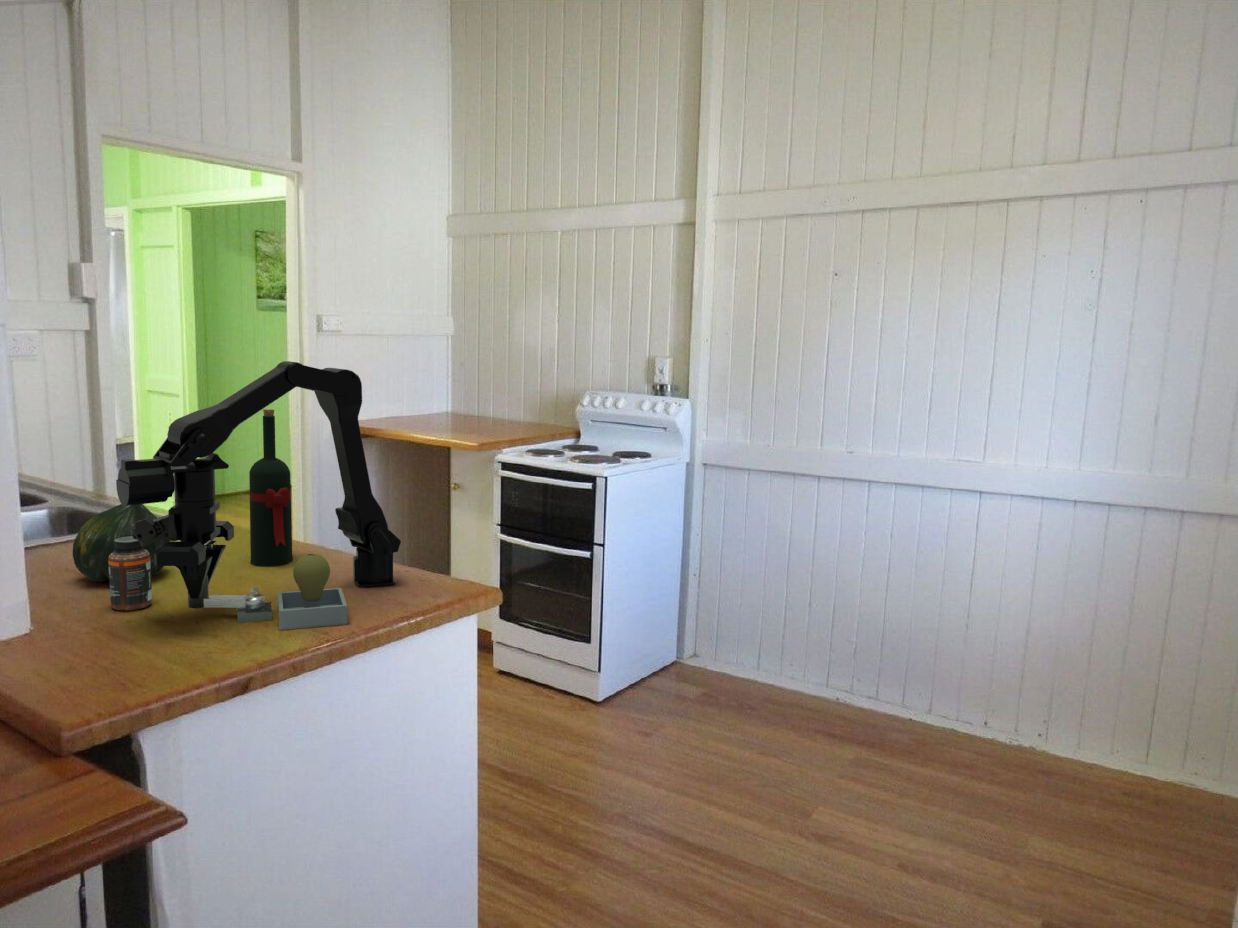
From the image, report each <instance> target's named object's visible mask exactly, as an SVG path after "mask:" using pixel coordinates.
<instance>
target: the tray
mask: <svg viewBox="0 0 1238 928" xmlns="http://www.w3.org/2000/svg"><path fill="white" fill-rule="evenodd" d="M277 615H278V626H279V631H282V630H283V631H284V630H285V631H286V630H294V629H295V630H296V629H308V628H317V627H318V628H320V627H328V626H340V625H348V604H347V600H346V598H345V595H344V591H343V589H342V588H341V587H334V588H324V589H323V593H322V597H321V599H320V607H311V608H304V600H303V598H302V595H301V591H300V590H294V591H293V590H290V591H279V592H277Z"/></svg>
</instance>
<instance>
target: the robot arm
mask: <svg viewBox="0 0 1238 928" xmlns="http://www.w3.org/2000/svg"><path fill="white" fill-rule="evenodd" d="M295 388H300V389H304V390H308V391H312V392H314V395H315V397H316V399H317V402H318V404H319V406H320V409H322V411H323V413H324V414H325V416H326V417H327V419H328V421H329V424H330V428H331V429H330V430H331V433H332V438H333V444H334V448H335V454H336V457H337V458H336V459H337V464H338V468H339V472H340V480H341V483H342V489H343V495H344V498H343V499H344V500H343V503H342V506H341V507H336V508H335V510H334V512H335V515H336V517H337V521H338V524H337V529H338V530H340V531H342V534H343V535H344V536H345V537H346V538H348V540H349V542H350V544H351V545H350V546H351V547H353V548H356V551H355V552H356V553H355V555H354V556H353V557H352V578H353V580H354V582H355V583H356V584H357V586H358V587H359V588H364V587H365V588H366V587H379V586H380V587H381V586H392V585H395V584H396V581H395V579H394V553H398V552H399V549H400V547H401V546H400V545H401V542H402V541H401V539H399V538H398V537H397V536H396V534H394V533H393V532H392V531H391V530H390V529H389V525H388V521H387V519H386V517H385V512H384V511H383V509H382V507H381V506H380V504H379V503H378V500H376V498H375V496H374V495H373V490H372V486H371V479H370V475H369V470H368V465H367V458H366V455H365V454H366V453H365V448H364V443H363V438H362V437H363V436H362V433H361V426H360V422H359V415H360V412H361V408H362V405H363V385H362V380H361V378H360V376H359V374H357V373H355V372H354V371H352V370H350V369H344V368H336V367H325V368H317V367H312V366H308V365H304V364H303V363H300V362H297V361H290V360H287V361H281V362H278V364H277V365H276V366H274V368H272V369H271V370H269V371H268V372H266V373H264V374H263V375H262V376H259V377H258V378H256V379H255V380H253V381H252V382H250V383H249V384H247V385H246V386H244V387H242V388H241V389H239V390H237V391H236V392H235V393H233V394H232V395H230V396H228V397H227V398H224V399H223V400H222V401H220V402H218V403H217V404H214V405H212V406H209V407H205V408H202V409H199V410H196V411H195V410H194V411H193V412H191V413H188V414H186V415H184V416H181V417H178V418H176V419H175V420H174V421H173V422H172V423H170V425H169V426H168V431H167V435H166V436H167V437H166V439H165V440H164V441H163V443H162V445H160V447H159V448H158V450H156V453H154V455H153V456H152V458H149V459H148V458H146V459H131V458H125V459H121V460H120V468H119V470H118V475H117V479H116V480H115V481H116V482H115V484H116V492H117V493H116V494H117V497H118V500H119V502H120V504H122V505H123V506H129V505H138V504H143V505H147V504H157V503H164V502H166V501H168V499H169V498H173V494H174V505H173V506H171V507H170V508H169V509H168V514H165V515H162V516H160V517H157V518H156V519H153V520H152V519H151V518H149V517H148V518H146V519H144V520H139V521H137V522H136V523H135V528H134V529H133V532H134V535H133V538H134V539H135V540H138V541H140V544H141V546H142V547H144V546H147V545H149V544H150V543H152V542H155V541H158V540H161V539H164V538H167V537H168V541H169V542H167V543H166V544H164V545H162V546H161V547H160V548H159V549H158V550H156V551H155V552H154V565H156V566H164V567H175V568H177V569H178V570H179V572H180V574H181V577H182V579H183V582H184V585H185V587H186V589H187V593H188V592H189V595H190V598H191V599H197V598H199V595H200V593H201V590H202V587H203V584H204V581H205V578H206V575H207V574H208V586H209V584H210V583H211V579H212V578H213V575H214V573H215V570H216V569H217V566H218V564H219V562H220V559H221V557H222V556H223V553H224V552H225V549H226V547H227V545H226V544H218V543H217V542H218V541H217V540H215V539H216V538H224V540H225V541H226V542H227V541H231V540H232V539H234V538H235V527H234V525H233V524H232V523H231V522H229V520H217V514H216V513H217V510H220V508H221V506H220V501H216V479H215V475H216V474H215V471H216V470H224V469H225V470H226V469H227V470H228V468H229V467H230V465H229V464H228V463H227V462H226V461H224V460H223V459H222V458H221V457H220V456H219V454H217V453H214V452H215V451H217V450H218V449H219V448H220V447H221V446H223V444H224V443H225V442H226V441H227V440H228V439H229V438H230V436H231V435H232V433H233V432H234V430H235V429H236V428H237V427H239V426H240V424H242V423H243V422H245V421H246V420H248V419H250V418H251V417H253V416H255V414H257V413H259V412H260V411H263V409H266V407H268V406H270V405H271V404H272V403H274V402H275V401H277V400H279V399H280V398H282V397H283V396H284V395H286V394H287V393H289V392H291V391H292V390H294V389H295Z"/></svg>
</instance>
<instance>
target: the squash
mask: <svg viewBox="0 0 1238 928" xmlns="http://www.w3.org/2000/svg"><path fill="white" fill-rule="evenodd" d="M148 517H149V518H151V519H152V520H153V519H156V518H158V517H157V516H156V515H155V514H154V513H153V512H151V510H150V509H149V508H148V507H147V506H145V504H138V505H129V506H123V505H122V504H121V503H120V504H118V505H115V506H114V507H111V508H110V509H109V508H108V509H107V510H104V511H102V512H100V513H98V514H95V515H94V516H93V517H91V518H90V519H88V520H87V521H86V522H85V523H84V524H83V525H82V526H81V527H80V529H79V530H78V533H77V535H75V538H74V541H73V544H72V559H73V563H74V565H75V567H76V568H77V570H78V571H79V572H80V574H81V575H83V576H84V577H86V578H89V580H90V579H91V580H93V581H96V582H100V583H101V582H107V581H109V562H108V559H109V555H110V554H111V553H112V552H113V551H114V550H115V548H114V545H115V544H114V540H115V539H117V538H121V537H129V536H133V535H134V532H133V529H134V528H135V523H136V522H137V521H139V520H144V519H146V518H148ZM167 542H169V541H168V537H167V538H164V539H161V540H158V541H155V542H152V543H150V544H149V545H147V546H144V547H143V548H144V549H145V550H147V551H148V552H149V554H150V565H151V577H152V576H155V575H157V574H158V573H159V572H160V571H161V570H162V569H163V568H164V567H165V566H156V565H154V552H155V551H156V550H158V549H159V548H160V547H161V546H162V545H164V544H166V543H167Z"/></svg>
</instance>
